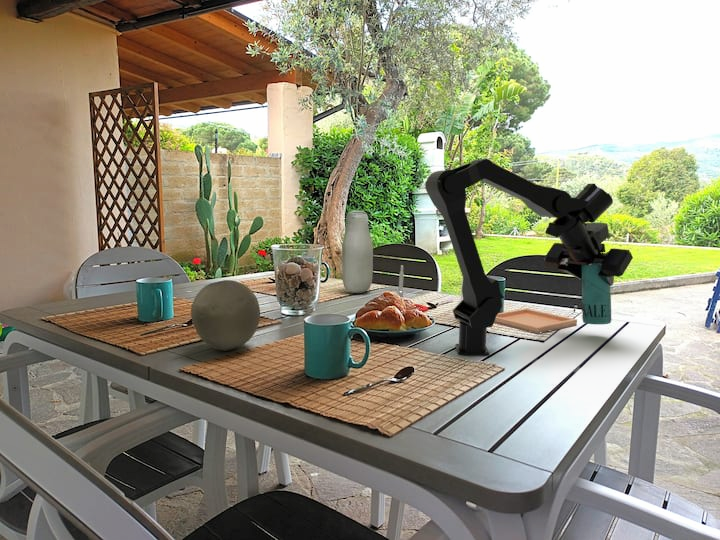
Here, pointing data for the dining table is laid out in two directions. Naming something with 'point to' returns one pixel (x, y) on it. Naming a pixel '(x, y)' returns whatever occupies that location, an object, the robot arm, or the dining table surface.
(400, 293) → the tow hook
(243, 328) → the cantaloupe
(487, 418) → the dining table surface
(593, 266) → the beverage bottle
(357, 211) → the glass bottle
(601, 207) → the robot arm
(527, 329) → the tray
